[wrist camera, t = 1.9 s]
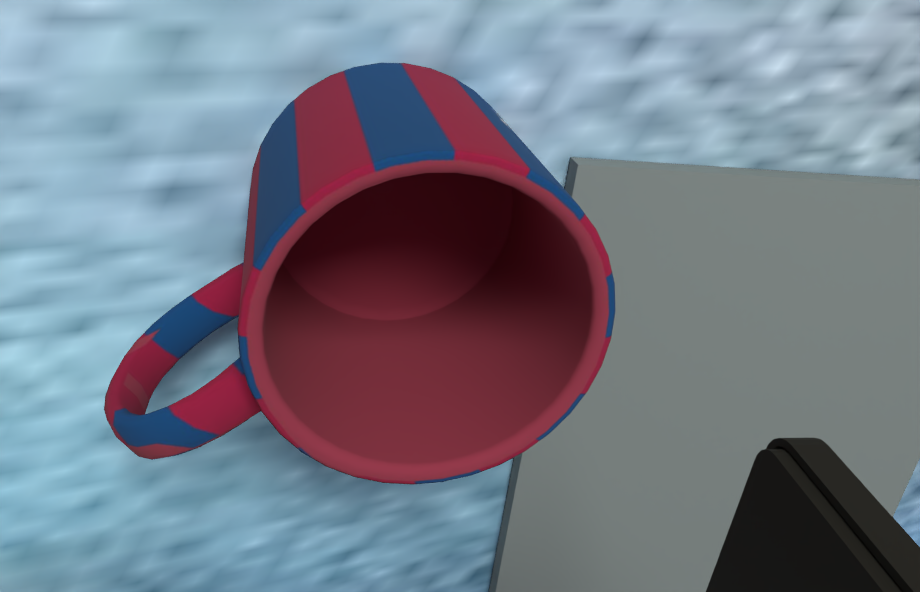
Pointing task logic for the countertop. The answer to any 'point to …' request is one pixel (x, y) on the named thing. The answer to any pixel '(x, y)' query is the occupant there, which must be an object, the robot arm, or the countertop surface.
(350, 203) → the mug
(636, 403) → the rubber mat
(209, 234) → the countertop surface
